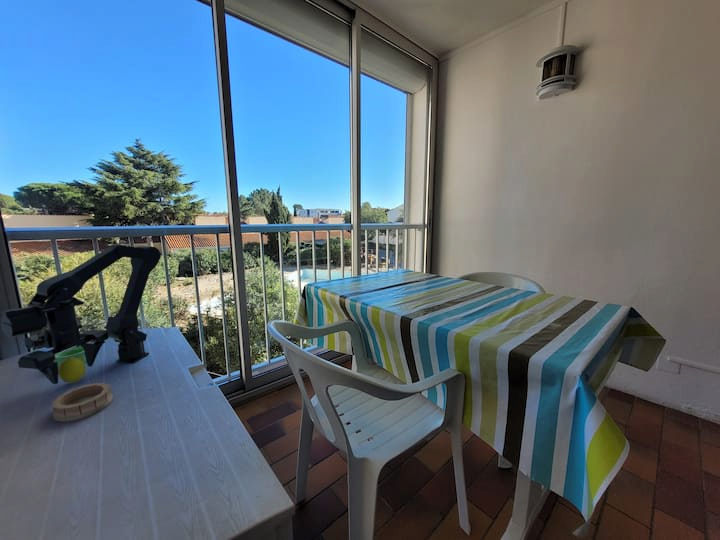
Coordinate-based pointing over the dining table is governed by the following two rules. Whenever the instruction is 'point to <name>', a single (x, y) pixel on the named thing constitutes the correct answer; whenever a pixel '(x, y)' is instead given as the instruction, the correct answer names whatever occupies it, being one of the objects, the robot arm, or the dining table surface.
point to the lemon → (72, 370)
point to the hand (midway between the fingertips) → (73, 374)
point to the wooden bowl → (81, 402)
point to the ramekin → (71, 355)
